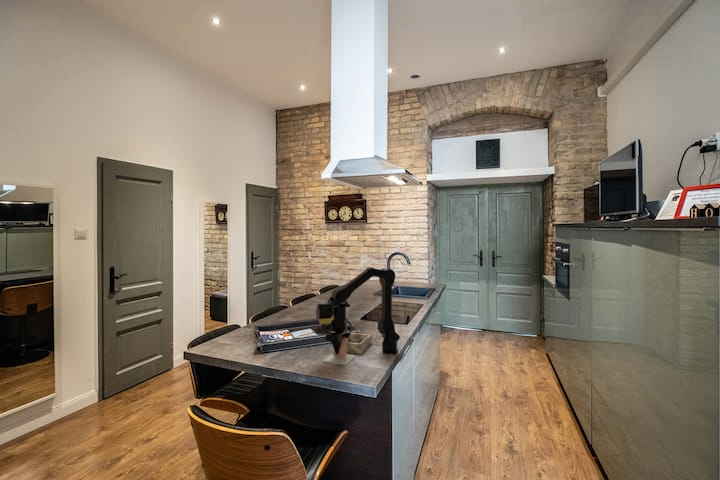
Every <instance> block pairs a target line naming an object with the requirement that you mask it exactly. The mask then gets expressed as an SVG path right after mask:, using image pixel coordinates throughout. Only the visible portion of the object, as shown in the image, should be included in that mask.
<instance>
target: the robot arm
mask: <svg viewBox="0 0 720 480" xmlns="http://www.w3.org/2000/svg"><path fill="white" fill-rule="evenodd" d="M373 277H377V278H378V280H379V283H380V286H381V318H380V319H379V320H377V321H376V322H377V327H376V329H377V330H378V333H379V334H380V335H381V337H382V338H383V339H382V340H383V341H382V342H381V350H382V354H389V355H391V354H392V355H396V354H397V353H398V351H399V348H398V345H399V344H398V342H399V341H400V337H401V336H400V335H399V334H398V332H397V331H396V329H395V323H394V321H393V318H392V317H393V316H392V315H393V314H392V311H393V310H392V309H393V307H392V306H393V305H392V302H393V301H392V300H393V299H392V298H393V296H392V295H393V294H392V293H393V286H394V284H395V281H396V272H395V271H394V270H393V269H391V268H385V267H382V268H374V267H371V266H369V267H366V268H365V270H363V271H362V272H360V273H359V274H358V275H357V276H355V277H354V278H353V279H352V280H350V281H349V282H348V283H345V284H343V285H340V286H339V287H337V288H335V289H333V290H332V292H331V296H330V297H329V299H328V300H327V301H326V302H324V303H321V302H320V303H317V305H316V310H315V316H316V319H317V320H318V319H328V318H331V317H332V316H333V320H332V321H331V322H330V323H327V324H326V323H324V324H322V325H321V327H320V328H319V329H320V331H321V332H322V333H323V334H325V333H327V334H326V335H325V337H324V341H325V342H330V343H331V344H332V348H333V347H334V350H335V353H336V354H337V355H338V354H339V351H340V347H341V344H342V339H341V337H347V338H348V339H349V337H350V335H351V333H353V331H354V326H353V325H351V324H347V322H348V318H347V308H350V307H351V304H349V303H348V301H347V300H348V299H349V298H350V297H351V295H352V294H353V293H354V292H355V291H356V290H357V289H358V288H360V287H361V286H362V285H364V283H366V282H367V281H368V280H370V279H371V278H373ZM328 332H329V333H328Z"/></svg>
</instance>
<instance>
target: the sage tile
mask: <svg viewBox="0 0 720 480" xmlns="http://www.w3.org/2000/svg"><path fill="white" fill-rule="evenodd" d="M355 358H356V354H349V353H347V356H345V357H334V356H333V353H331V355H329V356H328V357H326V358H325V359H324V360H323V363H326V364H335V365H343V366H347V365H349V364H350V363H351V362H352V361H353V360H354V359H355Z"/></svg>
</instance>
